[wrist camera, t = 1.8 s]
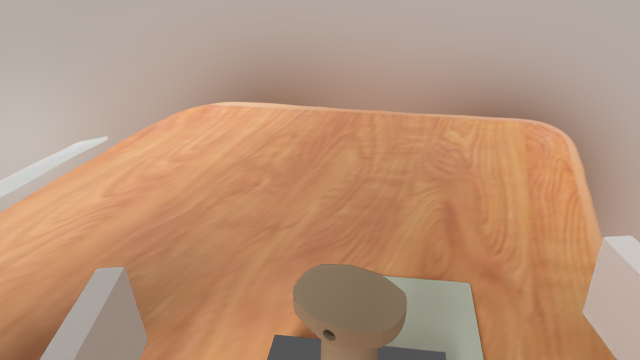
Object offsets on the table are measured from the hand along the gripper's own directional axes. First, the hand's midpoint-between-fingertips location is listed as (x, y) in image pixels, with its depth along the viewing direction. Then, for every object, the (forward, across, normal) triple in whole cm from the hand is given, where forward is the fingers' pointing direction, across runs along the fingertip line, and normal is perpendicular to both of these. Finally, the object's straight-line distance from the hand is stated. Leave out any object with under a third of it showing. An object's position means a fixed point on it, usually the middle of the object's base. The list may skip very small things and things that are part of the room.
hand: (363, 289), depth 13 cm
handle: (+10, 0, -24) cm, 26 cm away
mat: (+22, +7, -24) cm, 33 cm away
